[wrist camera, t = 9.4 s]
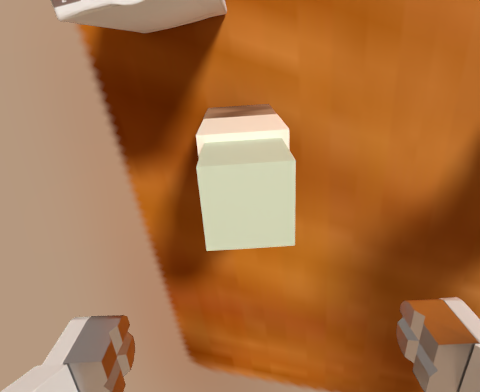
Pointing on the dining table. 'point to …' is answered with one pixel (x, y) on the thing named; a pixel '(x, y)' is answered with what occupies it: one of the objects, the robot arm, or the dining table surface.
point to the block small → (247, 194)
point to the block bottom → (239, 111)
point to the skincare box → (137, 13)
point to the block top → (241, 129)
